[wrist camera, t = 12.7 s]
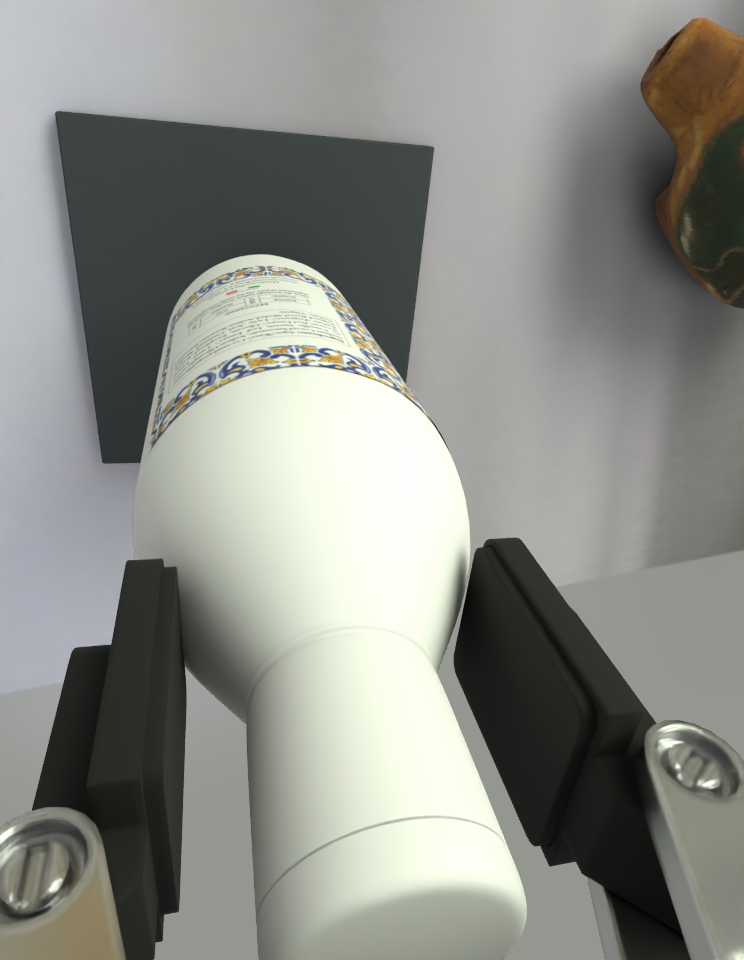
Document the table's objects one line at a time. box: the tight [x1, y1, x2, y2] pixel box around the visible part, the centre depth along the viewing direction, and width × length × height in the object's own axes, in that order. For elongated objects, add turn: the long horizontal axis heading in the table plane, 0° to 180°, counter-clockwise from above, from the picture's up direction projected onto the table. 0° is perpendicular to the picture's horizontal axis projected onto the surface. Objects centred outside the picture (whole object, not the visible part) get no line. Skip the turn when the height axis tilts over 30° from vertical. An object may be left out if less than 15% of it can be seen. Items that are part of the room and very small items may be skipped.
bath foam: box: [132, 254, 527, 960], centre depth 15 cm, size 7×7×20 cm
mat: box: [55, 111, 434, 464], centre depth 27 cm, size 14×14×1 cm
